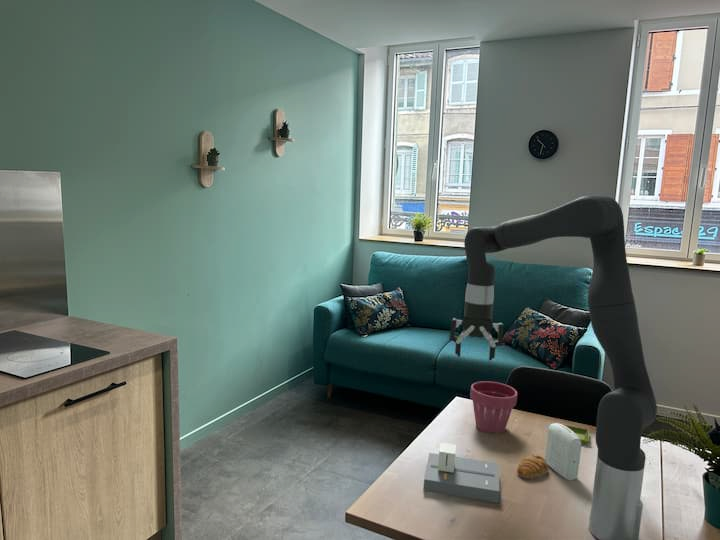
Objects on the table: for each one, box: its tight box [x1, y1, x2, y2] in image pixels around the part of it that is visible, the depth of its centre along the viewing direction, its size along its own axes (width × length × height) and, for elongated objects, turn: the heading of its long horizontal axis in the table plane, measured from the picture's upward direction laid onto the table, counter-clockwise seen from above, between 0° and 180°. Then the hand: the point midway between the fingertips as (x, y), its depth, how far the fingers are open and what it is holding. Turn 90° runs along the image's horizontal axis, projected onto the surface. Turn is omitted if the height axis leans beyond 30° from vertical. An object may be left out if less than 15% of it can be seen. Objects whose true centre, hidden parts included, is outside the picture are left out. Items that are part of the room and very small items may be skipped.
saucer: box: [562, 424, 590, 445], centre depth 165 cm, size 9×9×2 cm
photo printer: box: [544, 422, 582, 481], centre depth 143 cm, size 10×4×12 cm, turn 17°
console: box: [422, 452, 501, 504], centre depth 136 cm, size 18×14×3 cm
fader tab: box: [438, 442, 457, 473], centre depth 136 cm, size 4×5×5 cm
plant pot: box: [469, 380, 518, 434], centre depth 168 cm, size 14×14×13 cm
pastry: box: [516, 454, 550, 480], centre depth 142 cm, size 9×7×4 cm
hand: (474, 357), depth 147 cm, fingers open, 8 cm apart
